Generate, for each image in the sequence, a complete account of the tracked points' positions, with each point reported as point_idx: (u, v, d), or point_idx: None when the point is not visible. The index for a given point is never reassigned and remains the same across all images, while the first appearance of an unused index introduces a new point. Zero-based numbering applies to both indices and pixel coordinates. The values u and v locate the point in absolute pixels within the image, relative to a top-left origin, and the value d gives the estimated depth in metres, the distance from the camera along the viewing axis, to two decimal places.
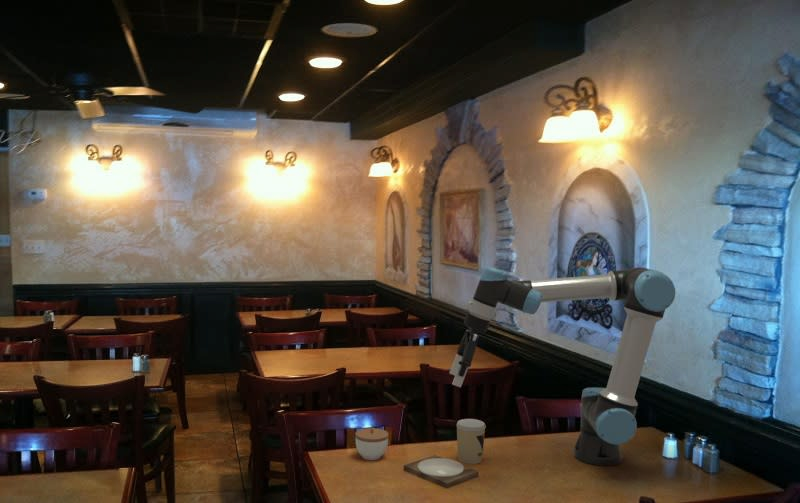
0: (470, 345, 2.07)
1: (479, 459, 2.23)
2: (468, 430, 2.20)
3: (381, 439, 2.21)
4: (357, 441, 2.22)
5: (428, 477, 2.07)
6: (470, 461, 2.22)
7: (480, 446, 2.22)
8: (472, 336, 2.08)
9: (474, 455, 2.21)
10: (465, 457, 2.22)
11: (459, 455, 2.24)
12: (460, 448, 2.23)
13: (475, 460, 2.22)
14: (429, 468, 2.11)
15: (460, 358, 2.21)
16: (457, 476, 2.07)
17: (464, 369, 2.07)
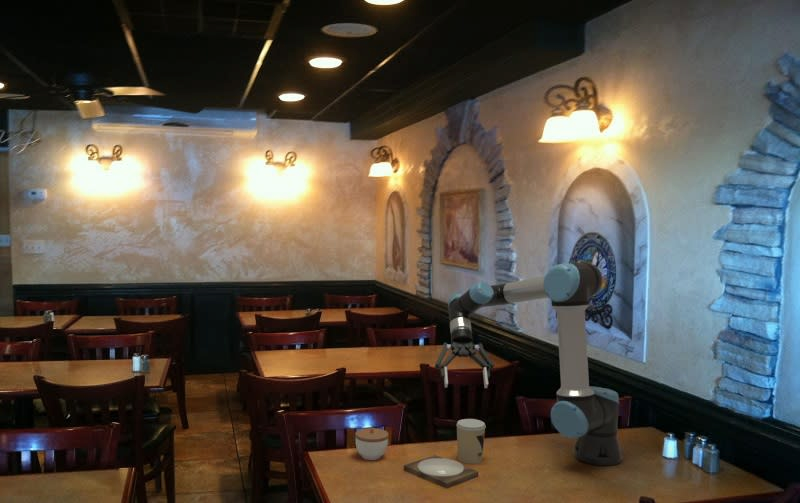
0: None
1: (479, 459, 2.23)
2: (468, 430, 2.20)
3: (381, 439, 2.21)
4: (357, 441, 2.22)
5: (428, 477, 2.07)
6: (470, 461, 2.22)
7: (480, 446, 2.22)
8: None
9: (474, 455, 2.21)
10: (465, 457, 2.22)
11: (459, 455, 2.24)
12: (460, 448, 2.23)
13: (475, 460, 2.22)
14: (429, 468, 2.11)
15: (483, 371, 2.39)
16: (457, 476, 2.07)
17: (441, 370, 2.38)
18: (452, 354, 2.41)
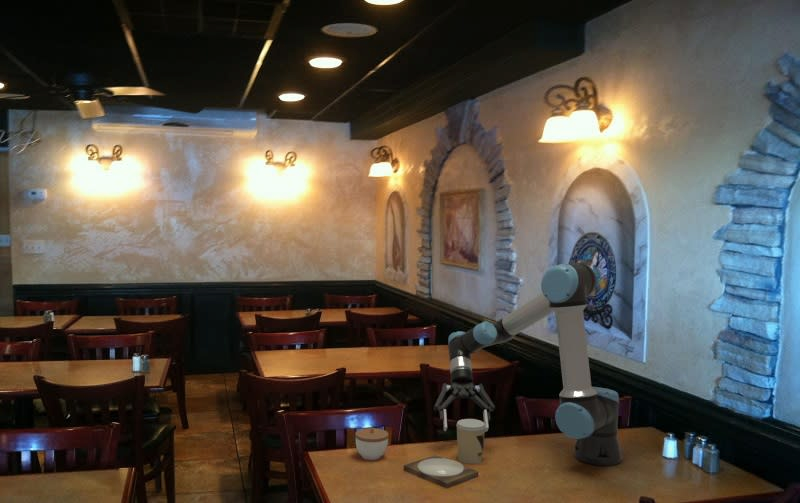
0: None
1: (479, 459, 2.23)
2: (468, 430, 2.20)
3: (381, 439, 2.21)
4: (357, 441, 2.22)
5: (428, 477, 2.07)
6: (470, 461, 2.22)
7: (480, 446, 2.22)
8: (442, 388, 2.39)
9: (474, 455, 2.21)
10: (465, 457, 2.22)
11: (459, 455, 2.24)
12: (460, 448, 2.23)
13: (475, 460, 2.22)
14: (429, 468, 2.11)
15: (484, 413, 2.33)
16: (457, 476, 2.07)
17: (440, 412, 2.32)
18: (452, 396, 2.35)
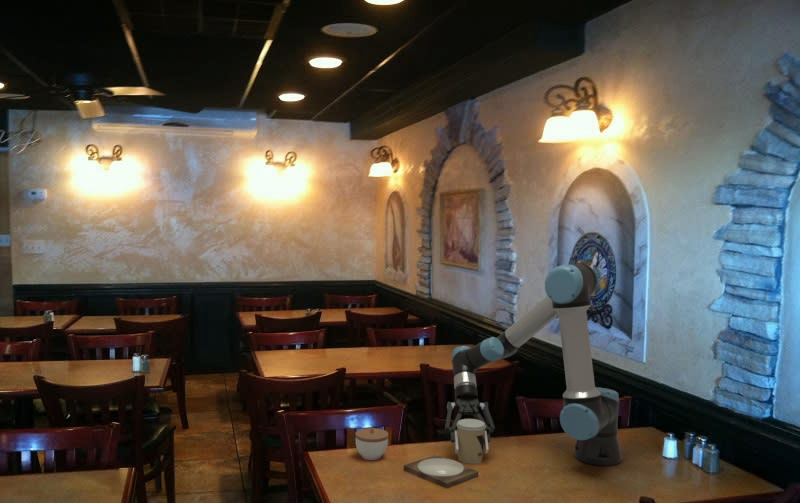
0: (447, 414, 2.31)
1: (479, 459, 2.23)
2: (468, 430, 2.20)
3: (381, 439, 2.21)
4: (357, 441, 2.22)
5: (428, 477, 2.07)
6: (470, 461, 2.22)
7: (480, 446, 2.22)
8: (447, 407, 2.33)
9: (474, 455, 2.21)
10: (465, 457, 2.22)
11: (459, 455, 2.24)
12: (460, 448, 2.23)
13: (475, 460, 2.22)
14: (429, 468, 2.11)
15: None
16: (457, 476, 2.07)
17: (451, 434, 2.25)
18: (459, 414, 2.29)
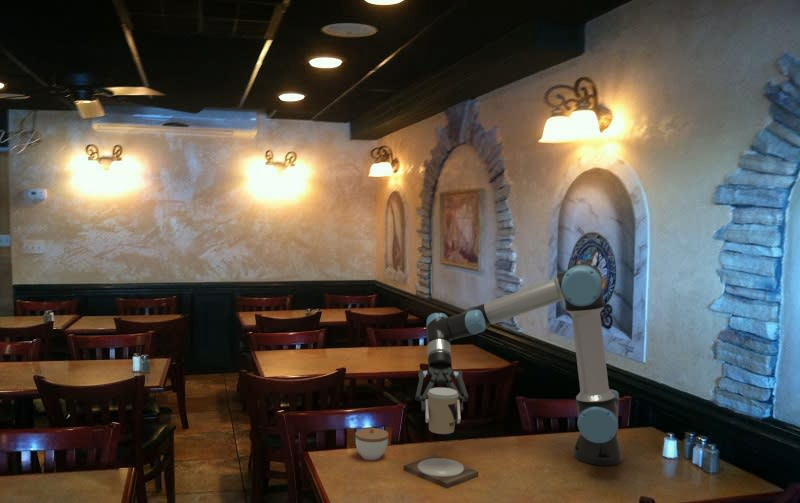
0: None
1: (451, 429, 2.10)
2: (439, 398, 2.08)
3: (381, 439, 2.21)
4: (357, 441, 2.22)
5: (428, 477, 2.07)
6: (441, 431, 2.09)
7: (452, 416, 2.10)
8: None
9: (445, 425, 2.09)
10: (436, 427, 2.10)
11: (430, 425, 2.11)
12: (431, 417, 2.11)
13: (446, 430, 2.09)
14: (429, 468, 2.11)
15: None
16: (457, 476, 2.07)
17: (421, 403, 2.13)
18: (431, 382, 2.17)
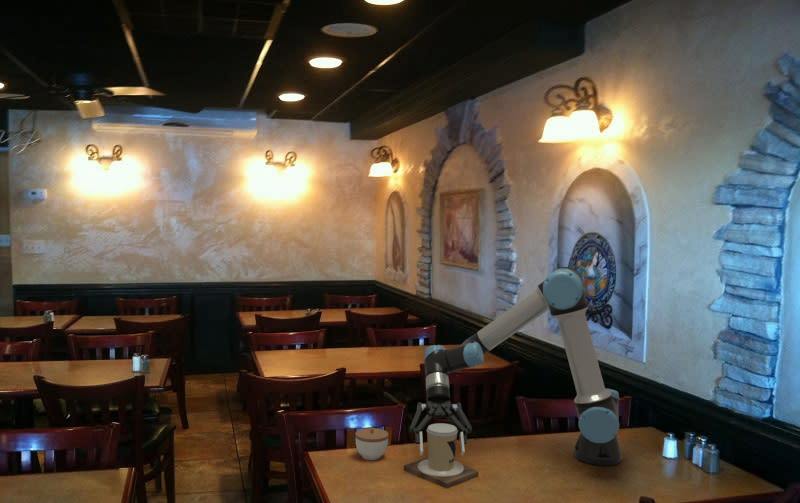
0: None
1: (450, 466, 2.10)
2: (438, 435, 2.08)
3: (381, 439, 2.21)
4: (357, 441, 2.22)
5: (428, 477, 2.07)
6: (441, 468, 2.09)
7: (451, 452, 2.09)
8: (417, 407, 2.20)
9: (445, 462, 2.09)
10: (435, 464, 2.09)
11: (429, 462, 2.11)
12: (430, 454, 2.10)
13: (446, 467, 2.09)
14: (429, 468, 2.11)
15: (460, 435, 2.14)
16: (457, 476, 2.07)
17: (415, 435, 2.13)
18: (428, 416, 2.17)
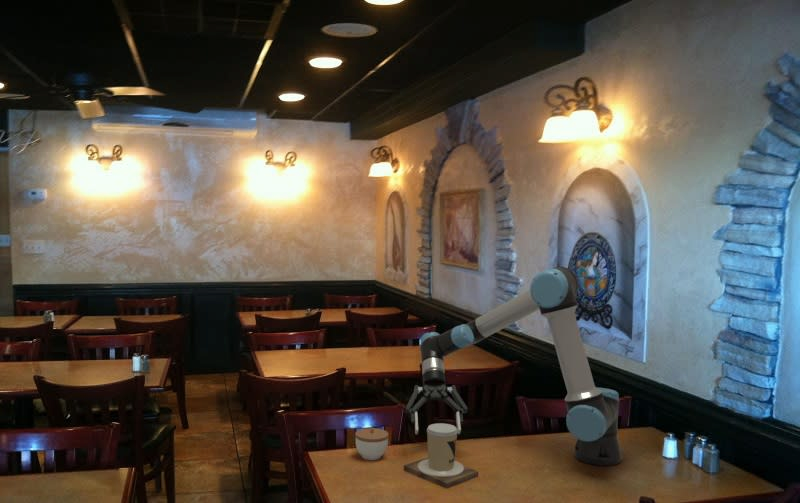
0: None
1: (450, 466, 2.10)
2: (438, 435, 2.08)
3: (381, 439, 2.21)
4: (357, 441, 2.22)
5: (428, 477, 2.07)
6: (441, 468, 2.09)
7: (451, 452, 2.09)
8: None
9: (445, 462, 2.09)
10: (435, 464, 2.09)
11: (429, 462, 2.11)
12: (430, 454, 2.10)
13: (446, 467, 2.09)
14: (429, 468, 2.11)
15: (456, 415, 2.26)
16: (457, 476, 2.07)
17: (411, 415, 2.25)
18: (423, 398, 2.29)
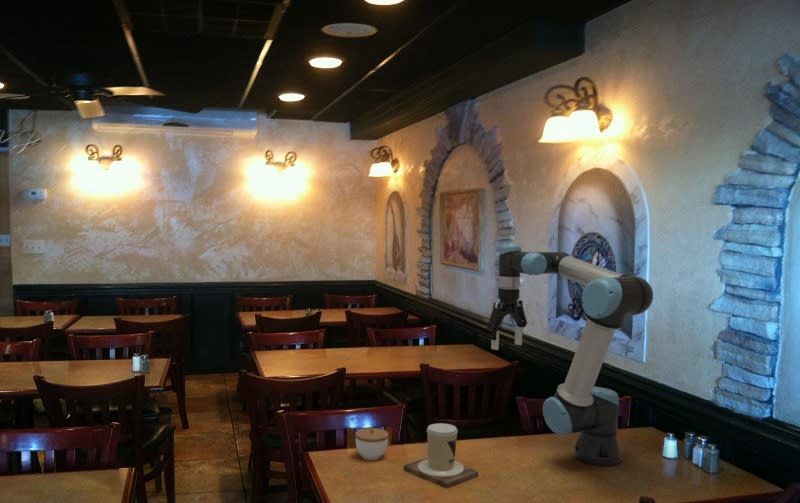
0: (493, 312, 2.44)
1: (450, 466, 2.10)
2: (438, 435, 2.08)
3: (381, 439, 2.21)
4: (357, 441, 2.22)
5: (428, 477, 2.07)
6: (441, 468, 2.09)
7: (451, 452, 2.09)
8: (494, 304, 2.45)
9: (445, 462, 2.09)
10: (435, 464, 2.09)
11: (429, 462, 2.11)
12: (430, 454, 2.10)
13: (446, 467, 2.09)
14: (429, 468, 2.11)
15: (518, 329, 2.54)
16: (457, 476, 2.07)
17: (493, 333, 2.44)
18: (503, 316, 2.46)
